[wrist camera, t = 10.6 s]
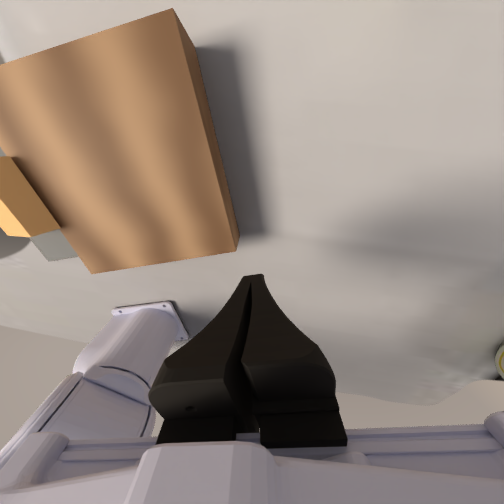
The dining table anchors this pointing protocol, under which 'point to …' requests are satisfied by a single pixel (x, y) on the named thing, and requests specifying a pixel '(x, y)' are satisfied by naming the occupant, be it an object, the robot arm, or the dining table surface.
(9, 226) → the block
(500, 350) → the air freshener
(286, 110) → the dining table surface
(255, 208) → the dining table surface
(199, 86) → the panel
